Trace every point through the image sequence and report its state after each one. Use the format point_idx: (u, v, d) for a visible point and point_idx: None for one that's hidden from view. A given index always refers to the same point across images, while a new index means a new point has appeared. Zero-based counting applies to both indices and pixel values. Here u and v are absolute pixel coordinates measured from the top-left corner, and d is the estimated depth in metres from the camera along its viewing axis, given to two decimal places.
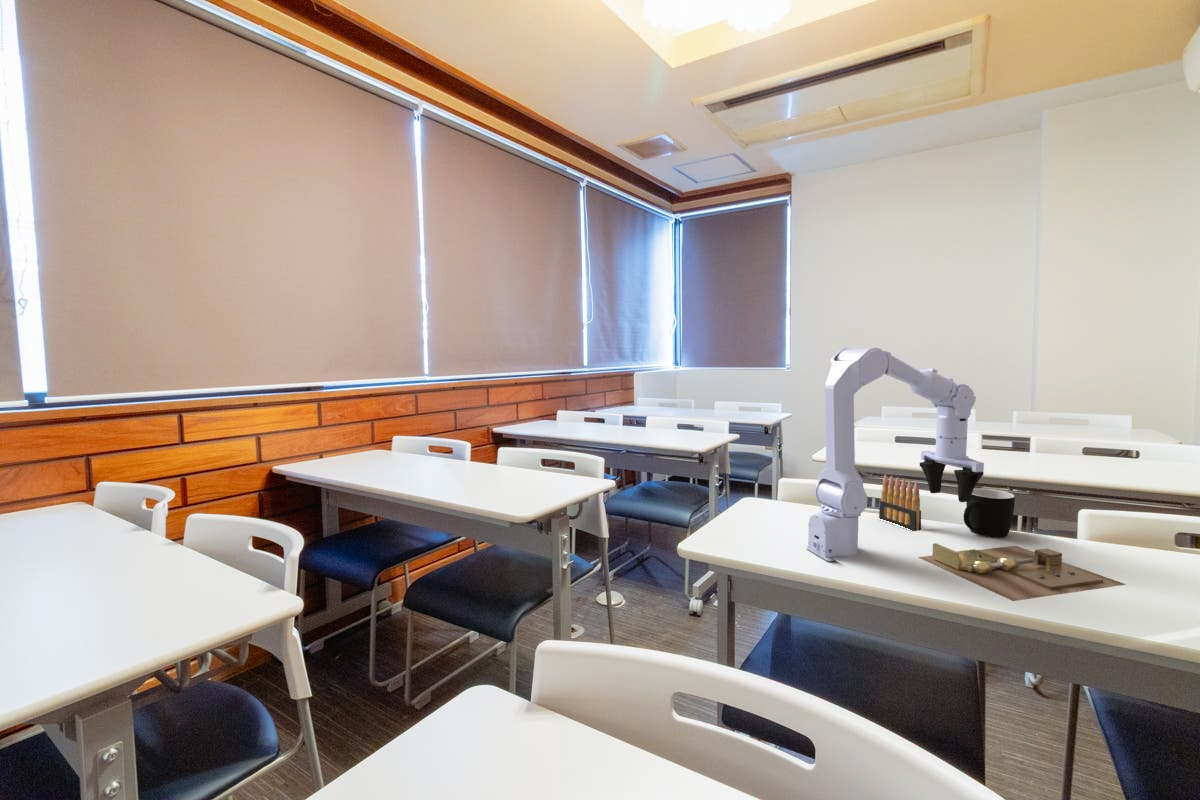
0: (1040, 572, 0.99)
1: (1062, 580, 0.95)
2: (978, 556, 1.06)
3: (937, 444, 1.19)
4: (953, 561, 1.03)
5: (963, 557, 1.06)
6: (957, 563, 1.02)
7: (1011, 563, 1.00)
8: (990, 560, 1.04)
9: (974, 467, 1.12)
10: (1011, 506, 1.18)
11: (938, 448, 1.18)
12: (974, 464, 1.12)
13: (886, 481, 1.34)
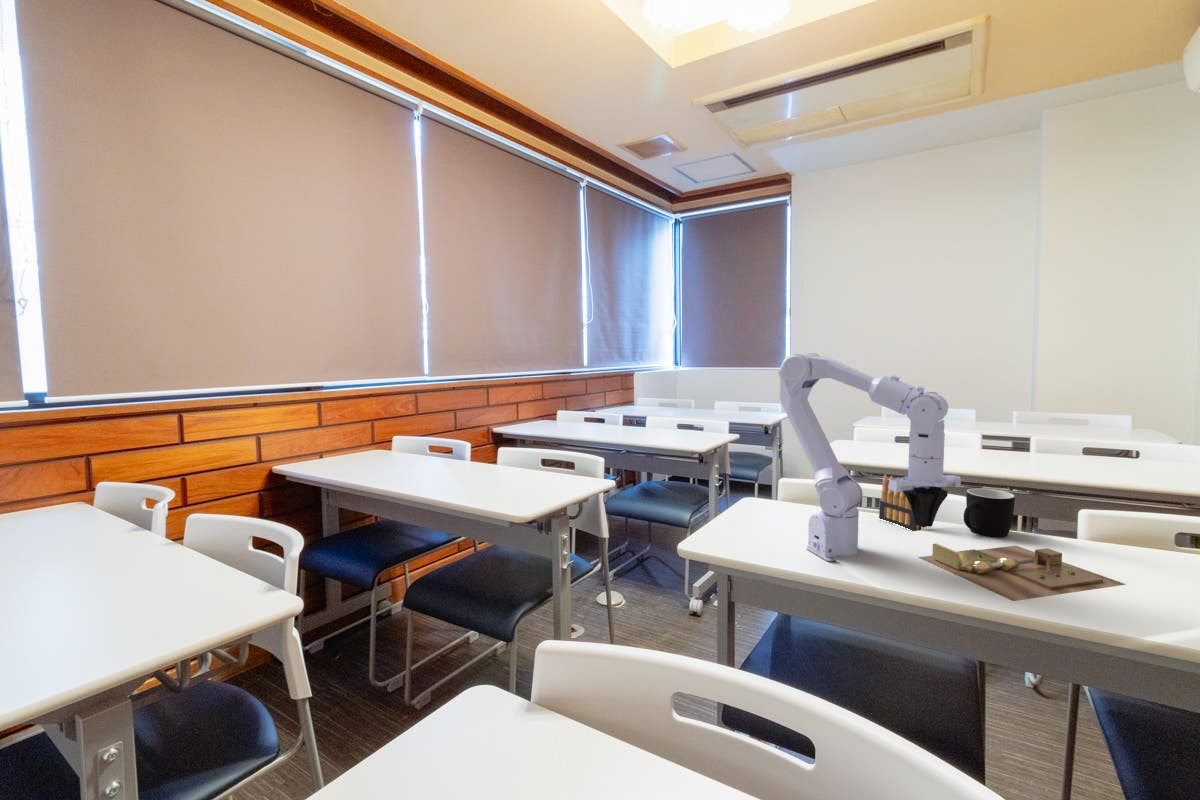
0: (1040, 572, 0.99)
1: (1062, 580, 0.95)
2: (978, 556, 1.06)
3: None
4: (953, 561, 1.03)
5: (963, 557, 1.06)
6: (957, 563, 1.02)
7: (1011, 563, 1.00)
8: (990, 560, 1.04)
9: None
10: (1011, 506, 1.18)
11: None
12: None
13: (886, 481, 1.34)
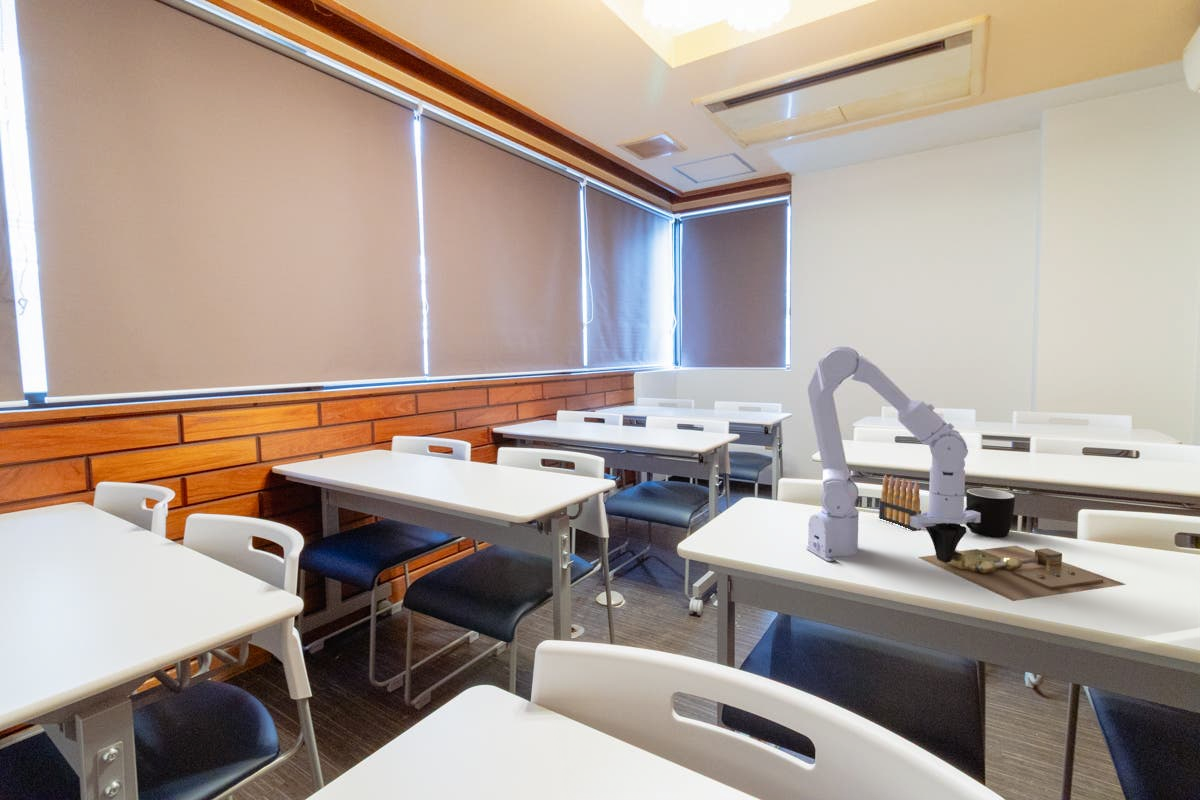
0: (1040, 572, 0.99)
1: (1062, 580, 0.95)
2: (981, 556, 1.06)
3: None
4: (956, 561, 1.03)
5: (966, 557, 1.06)
6: (960, 563, 1.02)
7: (1015, 562, 1.00)
8: (993, 560, 1.04)
9: None
10: (1011, 506, 1.18)
11: None
12: None
13: (886, 481, 1.34)
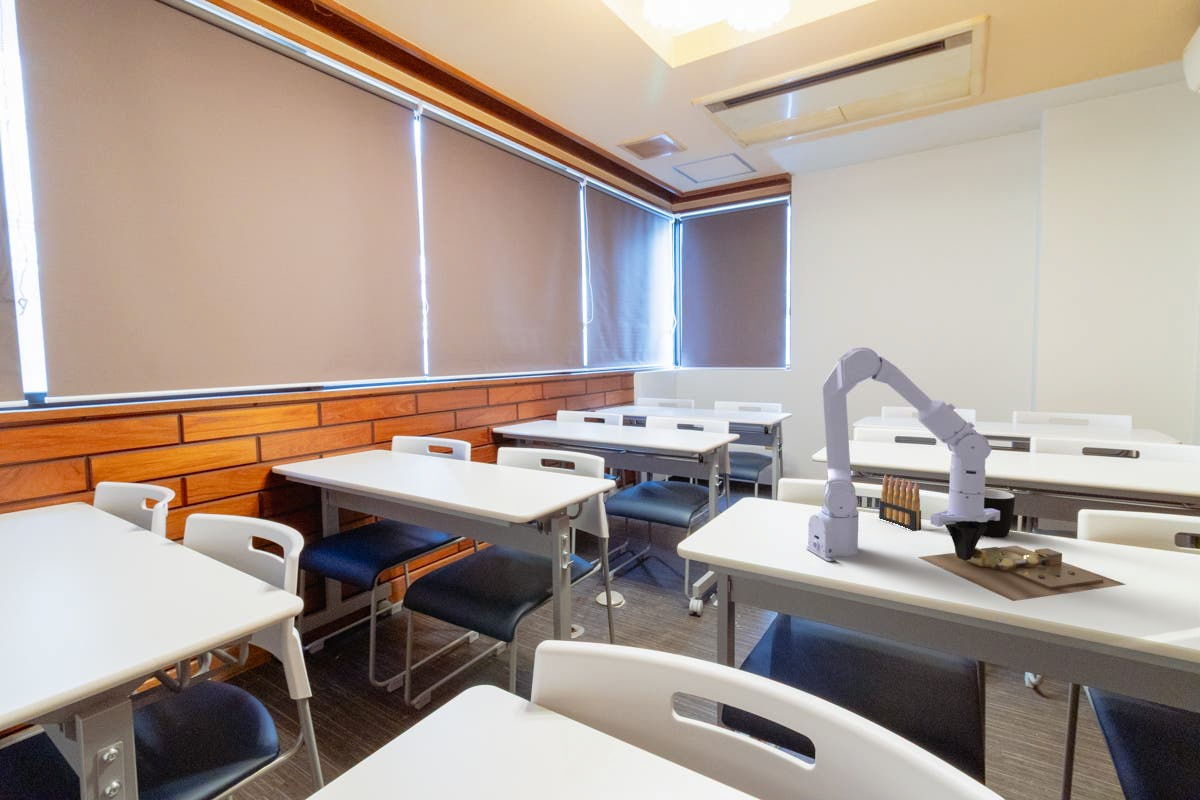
0: (1040, 572, 0.99)
1: (1062, 580, 0.95)
2: (1000, 553, 1.07)
3: None
4: (976, 558, 1.04)
5: (986, 554, 1.07)
6: (981, 560, 1.03)
7: (1035, 560, 1.02)
8: (1013, 557, 1.05)
9: None
10: (1011, 506, 1.18)
11: None
12: None
13: (886, 481, 1.34)
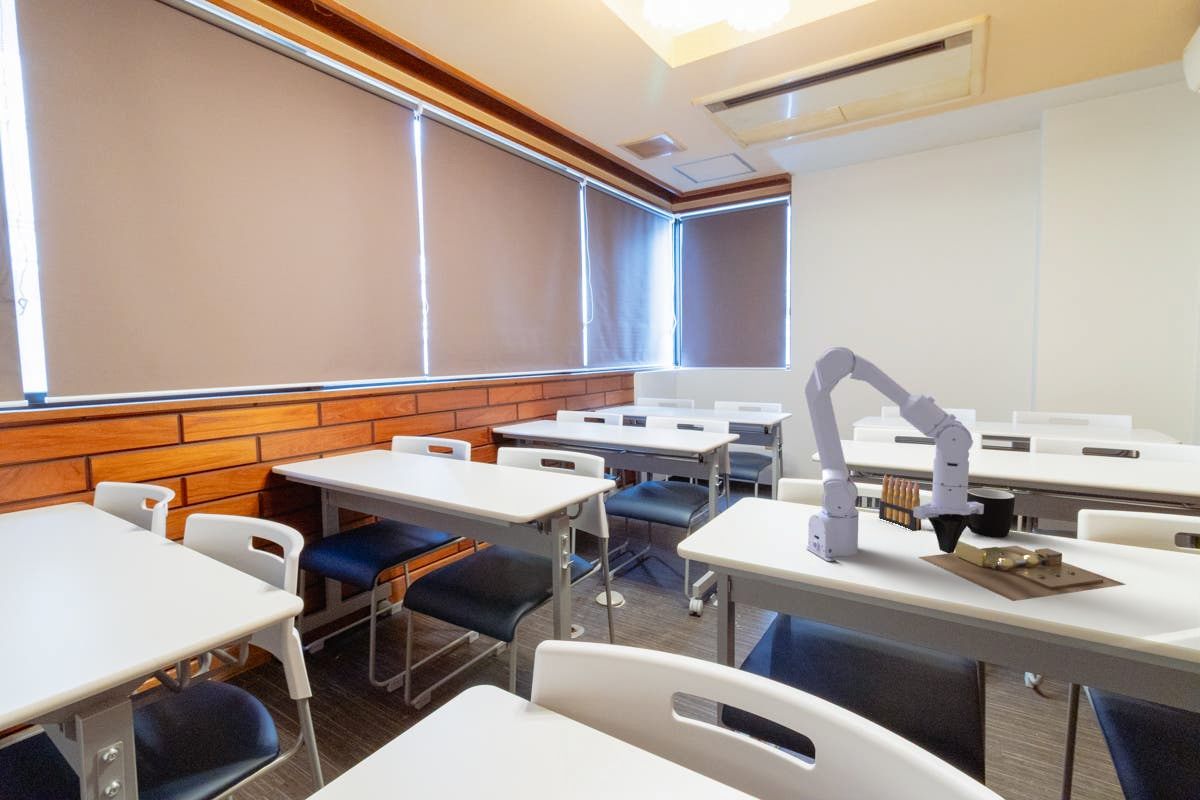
0: (1040, 572, 0.99)
1: (1062, 580, 0.95)
2: (1001, 553, 1.07)
3: None
4: (977, 558, 1.04)
5: (986, 554, 1.07)
6: (981, 560, 1.03)
7: (1035, 560, 1.02)
8: (1013, 557, 1.05)
9: None
10: (1011, 506, 1.18)
11: None
12: None
13: (886, 481, 1.34)
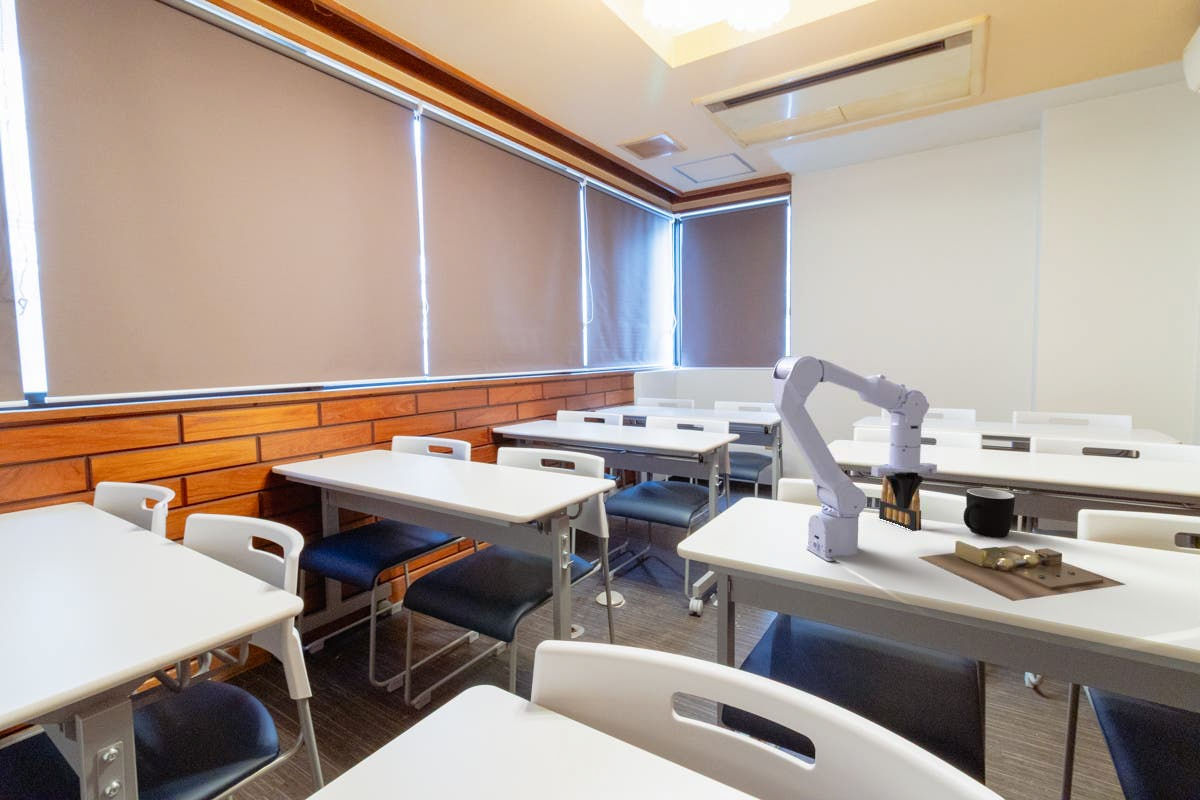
0: (1040, 572, 0.99)
1: (1062, 580, 0.95)
2: (1001, 553, 1.07)
3: None
4: (977, 558, 1.04)
5: (986, 554, 1.07)
6: (981, 560, 1.03)
7: (1035, 560, 1.02)
8: (1013, 557, 1.05)
9: None
10: (1011, 506, 1.18)
11: None
12: None
13: (886, 481, 1.34)
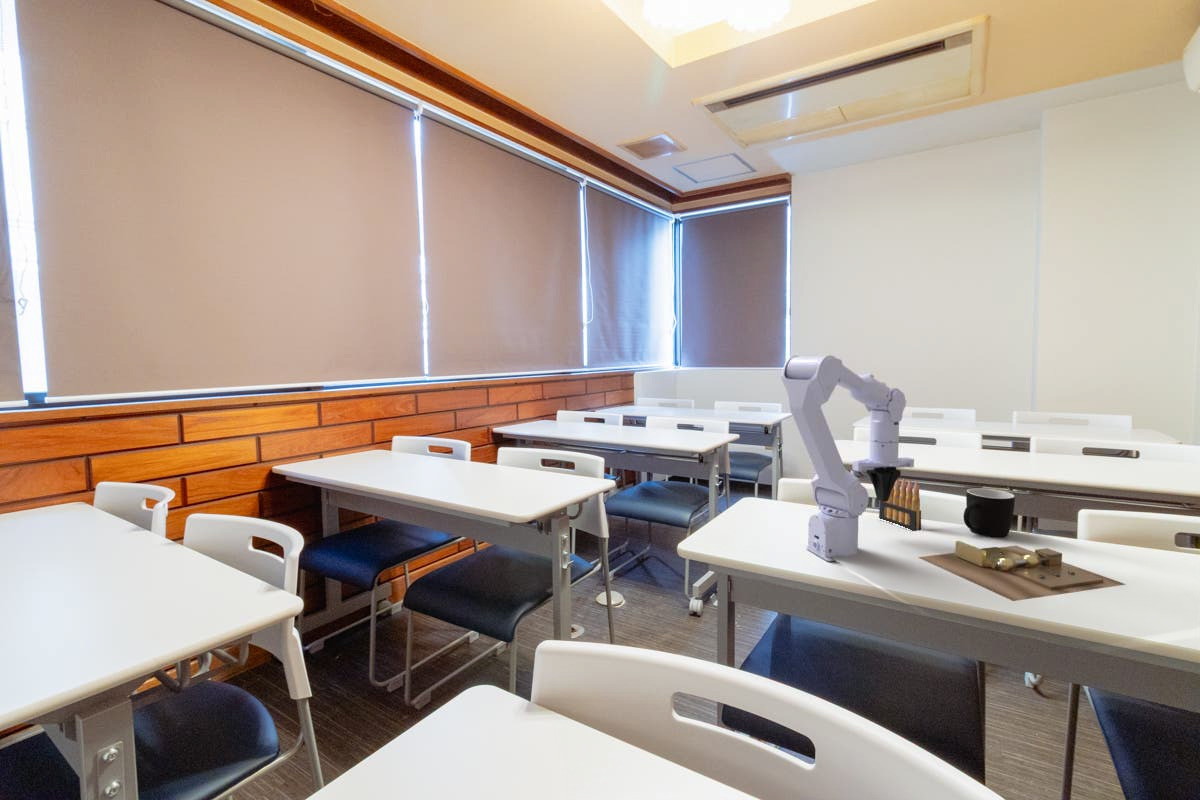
0: (1040, 572, 0.99)
1: (1062, 580, 0.95)
2: (1001, 553, 1.07)
3: None
4: (977, 558, 1.04)
5: (986, 554, 1.07)
6: (981, 560, 1.03)
7: (1035, 560, 1.02)
8: (1013, 557, 1.05)
9: None
10: (1011, 506, 1.18)
11: None
12: None
13: None
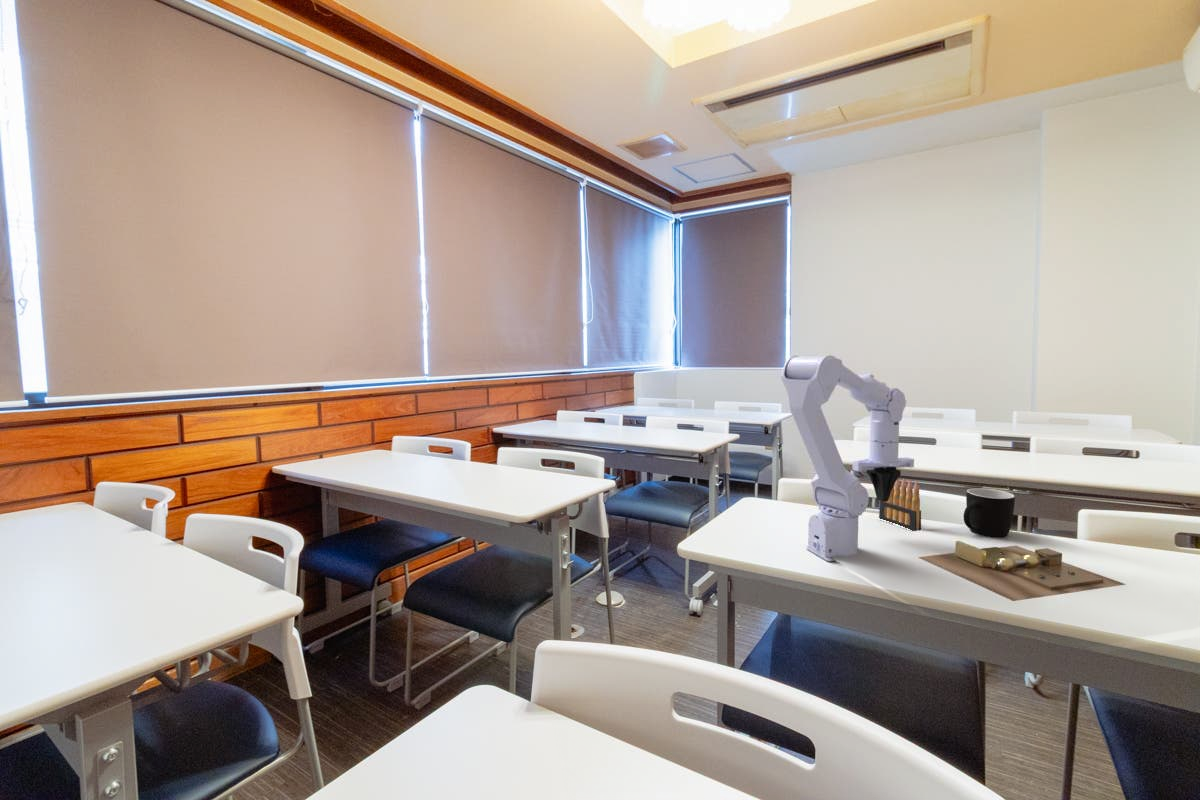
0: (1040, 572, 0.99)
1: (1062, 580, 0.95)
2: (1001, 553, 1.07)
3: None
4: (977, 558, 1.04)
5: (986, 554, 1.07)
6: (981, 560, 1.03)
7: (1035, 560, 1.02)
8: (1013, 557, 1.05)
9: None
10: (1011, 506, 1.18)
11: None
12: None
13: None
